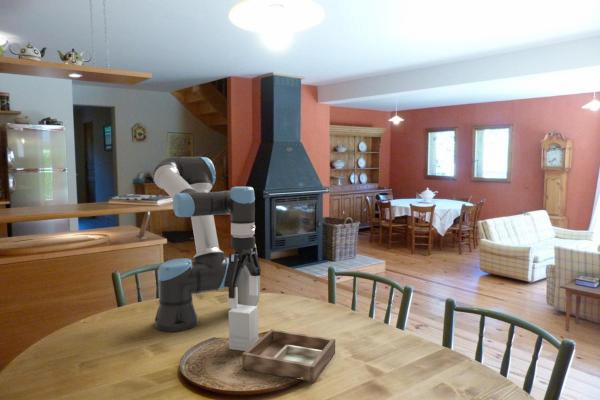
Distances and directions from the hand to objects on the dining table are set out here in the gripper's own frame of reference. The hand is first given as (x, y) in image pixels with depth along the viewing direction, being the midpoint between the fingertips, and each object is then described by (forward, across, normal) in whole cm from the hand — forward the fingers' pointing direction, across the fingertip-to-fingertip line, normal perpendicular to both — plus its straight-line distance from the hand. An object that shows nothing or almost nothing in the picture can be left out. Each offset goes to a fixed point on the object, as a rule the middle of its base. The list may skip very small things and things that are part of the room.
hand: (243, 301), depth 145 cm
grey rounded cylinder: (+15, +33, +16) cm, 40 cm away
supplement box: (+15, 0, 0) cm, 15 cm away
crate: (+15, -4, -18) cm, 24 cm away
